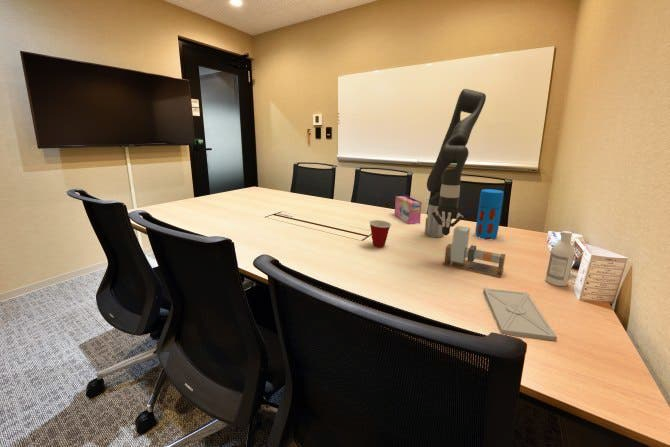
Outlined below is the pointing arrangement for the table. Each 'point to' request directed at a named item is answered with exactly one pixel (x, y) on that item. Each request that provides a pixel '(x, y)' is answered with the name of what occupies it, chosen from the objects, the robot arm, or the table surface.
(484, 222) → the blue tall rounded block
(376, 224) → the plastic cup
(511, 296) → the envelope
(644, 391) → the table surface
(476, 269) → the rail
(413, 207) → the pink cardboard box
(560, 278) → the bath foam
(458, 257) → the pale grey rectangular block
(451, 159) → the robot arm
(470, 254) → the gray brick
